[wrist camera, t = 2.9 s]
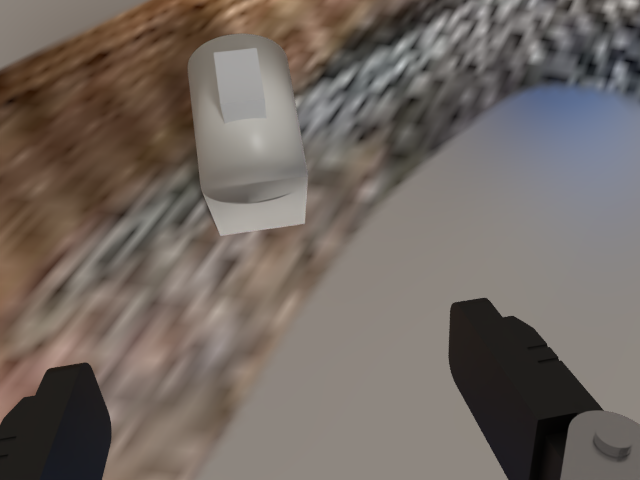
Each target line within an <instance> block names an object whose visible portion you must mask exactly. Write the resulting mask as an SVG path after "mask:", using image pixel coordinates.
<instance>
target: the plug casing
mask: <svg viewBox="0 0 640 480" xmlns="http://www.w3.org/2000/svg"><path fill="white" fill-rule="evenodd" d="M188 78H189V87H190V96H191V105H192V114H193V123H194V132H195V141H196V150H197V159H198V168H199V177H200V186H201V190H202V193H203V195H204V198H205V200H206V202H207V205H208V207H209V210H210V212H211V214H212V217H213V219H214V221H215V224H216V226H217V229H218V231H219V233H220V236H222V235H229V234H236V233H243V232H250V231H257V230H264V229H271V228H278V227H285V226H292V225H299V224H305V212H306V197H307V182H308V172H307V166H306V161H305V155H304V150H303V144H302V138H301V133H300V127H299V121H298V116H297V110H296V104H295V99H294V93H293V88H292V82H291V76H290V71H289V65H288V59H287V56H286V53H285V52H284V50H283V49H282V48H281V47H280V46H279V45H278V44H277V43H275V42H274V41H272V40H270V39H268V38H265V37H262V36H258V35H252V34H231V35H225V36H221V37H218V38H215V39H212V40H210V41H208V42H206V43H204V44H203V45H201V46H200V47H199V48H197V49H196V50H195V51H194V52H193V54H192V55H191V57H190V59H189V61H188Z"/></svg>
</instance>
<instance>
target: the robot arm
mask: <svg viewBox="0 0 640 480" xmlns="http://www.w3.org/2000/svg"><path fill="white" fill-rule="evenodd" d="M449 364H450V370H451V373H452V376H453V379H454V382H455V383H456V385H457V387H458V389H459V391H460V393H461V394H462V396H463V398H464V400H465V402H466V404H467V405H468V407H469V409H470V411H471V413H472V414H473V416H474V418H475V420H476V422H477V423H478V425H479V427H480V429H481V431H482V432H483V434H484V436H485V438H486V440H487V442H488V443H489V445H490V447H491V449H492V451H493V453H494V454H495V456H496V458H497V460H498V462H499V463H500V465H501V467H502V469H503V471H504V473H505V474H506V476H507V478H508V480H640V425H639V424H638V423H636V422H635V421H633V420H631V419H629V418H627V417H625V416H623V415H620V414H617V413H613V412H608V411H604V410H603V409H602V408H601V407H600V405H599V404H598V403H597V402H596V401H595V400H594V398H593V397H592V396H591V395H590V394H589V393H588V391H587V390H586V389H585V388H584V387H583V386H582V384H581V383H580V382H579V381H578V380H577V378H576V377H575V376H574V375H573V374H572V373H571V371H570V370H569V369H568V368H567V367H566V366H565V365H564V363H563V362H562V361H559V359H558V356H557V355H556V354H555V353H554V352H553V350H552V349H551V348H550V347H548V346H547V343H546V342H545V341H544V340H543V339H542V338H541V336H540V335H539V334H538V333H537V332H536V330H535V329H534V328H532V327H531V326H529V325H528V324H526V323H524V322H523V321H521V320H519V319H517V318H516V317H514V316H508V317H502V316H501V315H500V313H499V312H498V311H497V310H496V308H495V307H494V306H493V305H492V303H491V302H490V301H489V300H488V299H487V298H480V299H473V300H467V301H461V302H455V303H453V304H452V306H451V310H450V331H449ZM110 444H111V421H110V416H109V413H108V410H107V407H106V405H105V402H104V399H103V397H102V394H101V391H100V389H99V386H98V383H97V381H96V378H95V375H94V373H93V370H92V368H91V366H90V365H89V364H88V363H79V364H73V365H67V366H61V367H55V368H50V369H48V370H47V371H46V373H45V375H44V377H43V379H42V381H41V384H40V386H39V388H38V390H37V392H36V395H35V396H30V397H24V398H23V399H22V400H21V401H20V402H19V403H18V404H17V405H16V406H15V407H14V408H13V409H12V410H11V411H10V412H9V413H8V414H7V415H6V416H5V417H4V419H3V421H2V423H1V425H0V480H102V477H103V473H104V469H105V465H106V460H107V456H108V452H109V448H110Z"/></svg>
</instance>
